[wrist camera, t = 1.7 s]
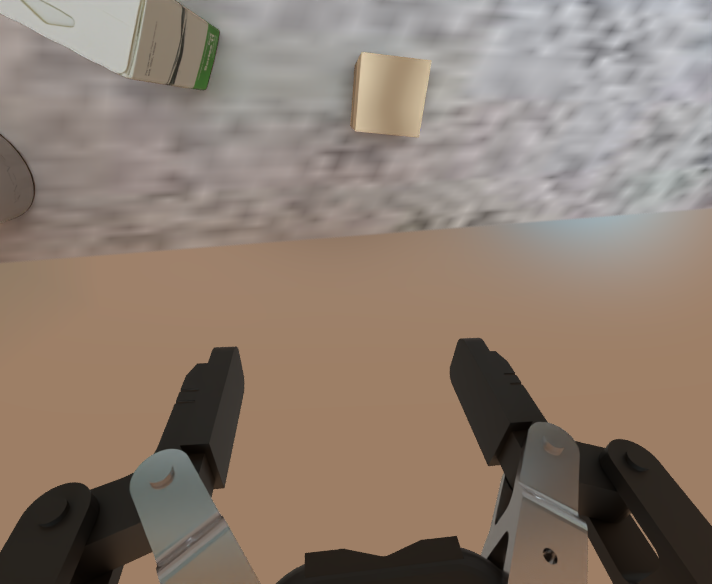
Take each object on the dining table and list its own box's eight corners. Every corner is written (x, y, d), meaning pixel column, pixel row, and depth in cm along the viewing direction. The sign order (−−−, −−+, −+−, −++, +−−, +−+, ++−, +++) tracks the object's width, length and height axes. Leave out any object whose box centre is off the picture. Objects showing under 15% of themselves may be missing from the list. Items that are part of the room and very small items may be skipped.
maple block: (350, 125, 31) (355, 131, 24) (354, 65, 28) (361, 51, 21) (399, 130, 31) (418, 137, 24) (407, 71, 29) (431, 60, 22)
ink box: (223, 30, 27) (152, -19, 16) (205, 93, 29) (133, 86, 18) (104, -41, 24) (-65, -150, 14) (94, 33, 26) (-61, -14, 16)
